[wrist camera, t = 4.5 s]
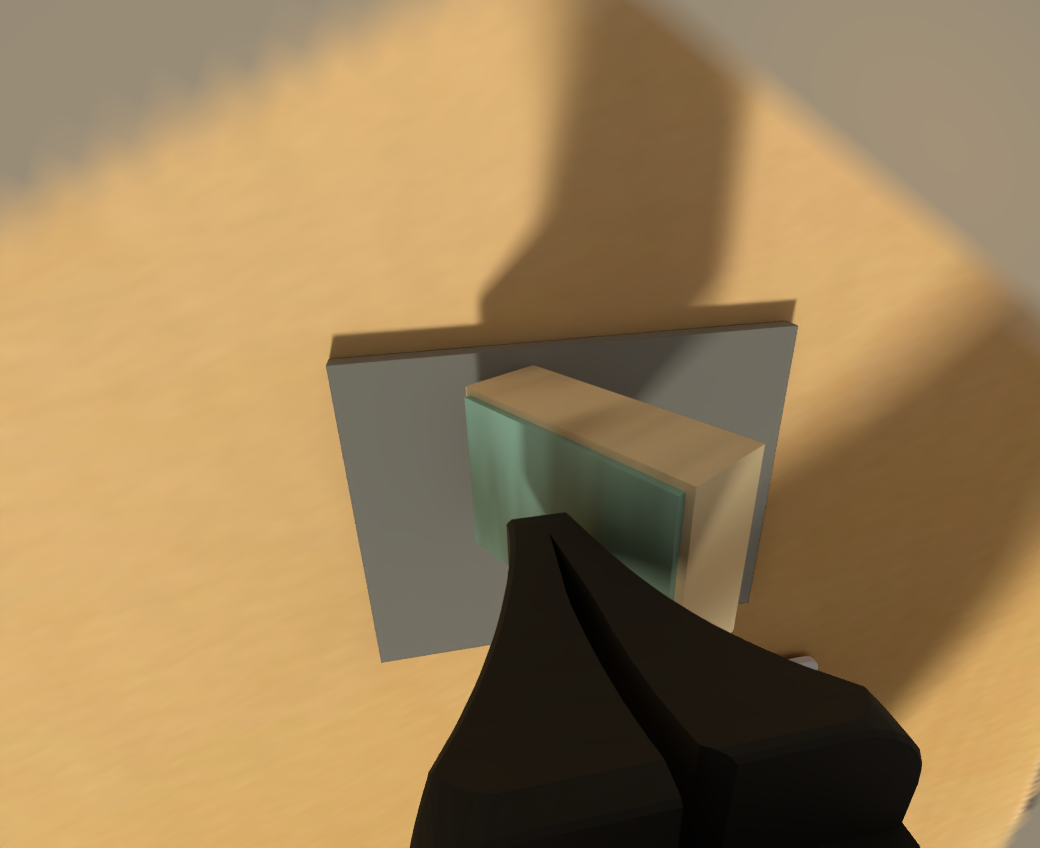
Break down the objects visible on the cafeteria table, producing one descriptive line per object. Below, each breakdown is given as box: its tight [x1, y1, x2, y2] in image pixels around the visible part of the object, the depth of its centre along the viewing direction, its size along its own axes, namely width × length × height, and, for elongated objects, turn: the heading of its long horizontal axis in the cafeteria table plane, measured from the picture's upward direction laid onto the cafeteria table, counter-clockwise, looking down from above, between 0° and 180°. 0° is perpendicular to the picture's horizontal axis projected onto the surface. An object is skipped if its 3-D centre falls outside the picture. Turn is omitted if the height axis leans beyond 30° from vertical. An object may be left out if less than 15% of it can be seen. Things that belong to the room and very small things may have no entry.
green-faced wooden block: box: [464, 365, 765, 633], centre depth 14 cm, size 5×3×7 cm, turn 2°
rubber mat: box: [326, 321, 798, 663], centre depth 19 cm, size 11×14×1 cm
